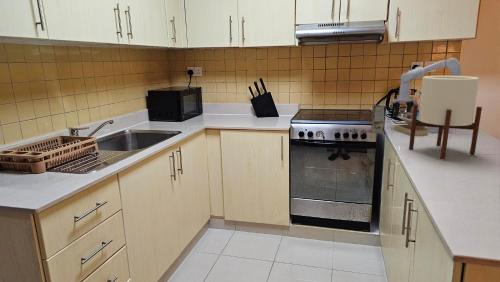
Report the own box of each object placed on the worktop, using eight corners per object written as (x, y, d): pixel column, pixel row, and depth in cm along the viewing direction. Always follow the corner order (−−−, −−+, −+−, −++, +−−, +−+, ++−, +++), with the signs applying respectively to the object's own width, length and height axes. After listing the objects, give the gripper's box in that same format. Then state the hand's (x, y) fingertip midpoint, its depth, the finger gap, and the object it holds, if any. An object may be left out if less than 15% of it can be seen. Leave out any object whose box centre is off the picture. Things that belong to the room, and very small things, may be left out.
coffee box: (384, 133, 205) (386, 106, 201) (373, 133, 206) (375, 106, 202) (381, 130, 214) (384, 104, 210) (371, 130, 215) (373, 104, 211)
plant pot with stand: (438, 144, 180) (447, 75, 171) (479, 155, 160) (491, 77, 151) (404, 148, 173) (412, 76, 164) (442, 161, 152) (453, 79, 143)
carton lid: (408, 124, 216) (412, 117, 216) (428, 130, 199) (432, 123, 199) (397, 116, 213) (401, 110, 213) (416, 122, 196) (420, 115, 196)
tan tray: (408, 129, 217) (408, 124, 216) (427, 135, 200) (428, 130, 199) (393, 129, 215) (394, 125, 214) (412, 136, 198) (412, 131, 197)
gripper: (410, 91, 219) (408, 112, 222) (390, 91, 216) (388, 113, 219) (418, 92, 212) (415, 114, 215) (397, 93, 209) (394, 115, 213)
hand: (402, 113), depth 217 cm, fingers open, 7 cm apart
